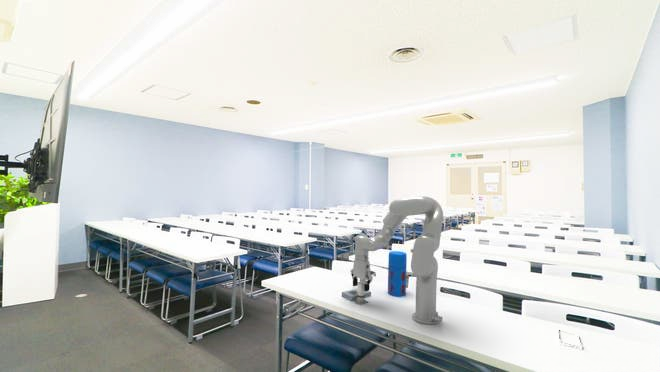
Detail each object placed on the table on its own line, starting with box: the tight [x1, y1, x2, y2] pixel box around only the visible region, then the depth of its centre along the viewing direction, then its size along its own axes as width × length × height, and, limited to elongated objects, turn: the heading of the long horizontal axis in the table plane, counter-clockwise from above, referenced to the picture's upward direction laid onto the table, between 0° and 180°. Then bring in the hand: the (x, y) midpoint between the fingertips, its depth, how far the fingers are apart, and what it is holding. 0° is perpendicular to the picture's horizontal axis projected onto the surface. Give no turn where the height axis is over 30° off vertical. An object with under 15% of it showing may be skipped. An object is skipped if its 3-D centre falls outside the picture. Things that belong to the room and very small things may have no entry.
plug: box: [356, 281, 365, 302], centre depth 163 cm, size 5×5×10 cm
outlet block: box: [341, 278, 372, 302], centre depth 172 cm, size 9×15×11 cm, turn 126°
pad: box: [352, 299, 369, 306], centre depth 163 cm, size 6×6×1 cm
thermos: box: [387, 250, 408, 298], centre depth 179 cm, size 11×11×25 cm
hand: (360, 288), depth 163 cm, fingers open, 9 cm apart
